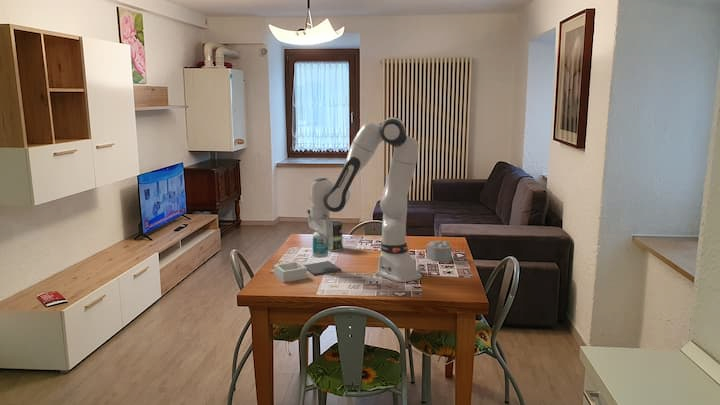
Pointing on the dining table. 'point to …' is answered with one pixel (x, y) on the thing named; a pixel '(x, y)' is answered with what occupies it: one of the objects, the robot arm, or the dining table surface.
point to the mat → (322, 268)
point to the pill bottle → (319, 245)
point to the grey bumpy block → (439, 251)
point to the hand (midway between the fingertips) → (320, 241)
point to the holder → (290, 271)
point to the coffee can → (335, 237)
